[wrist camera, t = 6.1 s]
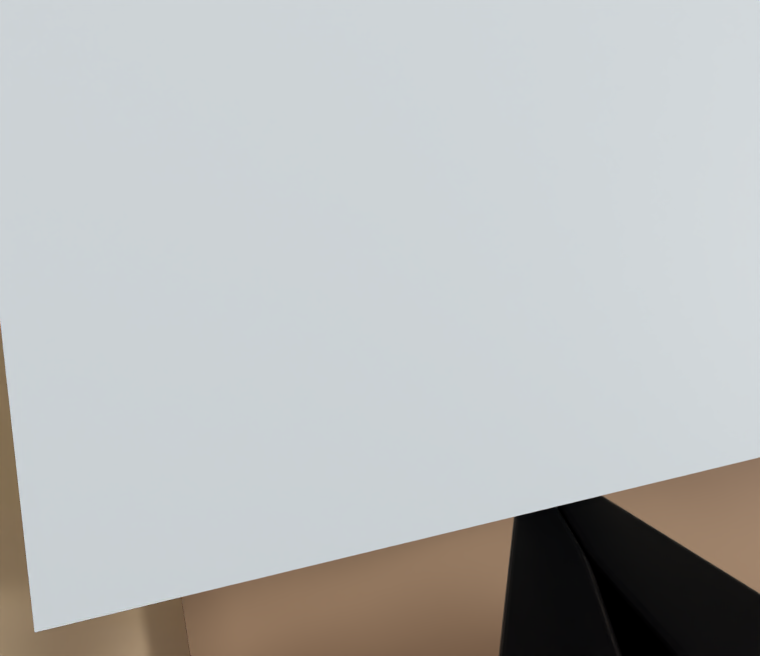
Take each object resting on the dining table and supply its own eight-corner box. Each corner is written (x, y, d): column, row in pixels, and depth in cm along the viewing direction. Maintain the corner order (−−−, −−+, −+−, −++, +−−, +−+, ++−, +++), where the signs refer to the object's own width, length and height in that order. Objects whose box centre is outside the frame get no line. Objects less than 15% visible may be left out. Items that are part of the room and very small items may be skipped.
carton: (684, 443, 16) (1150, 362, 5) (294, 538, 16) (34, 632, 6) (567, 93, 18) (742, -442, 8) (223, 181, 18) (-60, -223, 8)
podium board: (955, 822, 15) (1000, 851, 14) (262, 977, 15) (247, 1019, 14) (650, 16, 19) (664, -14, 18) (127, 151, 20) (107, 130, 19)
